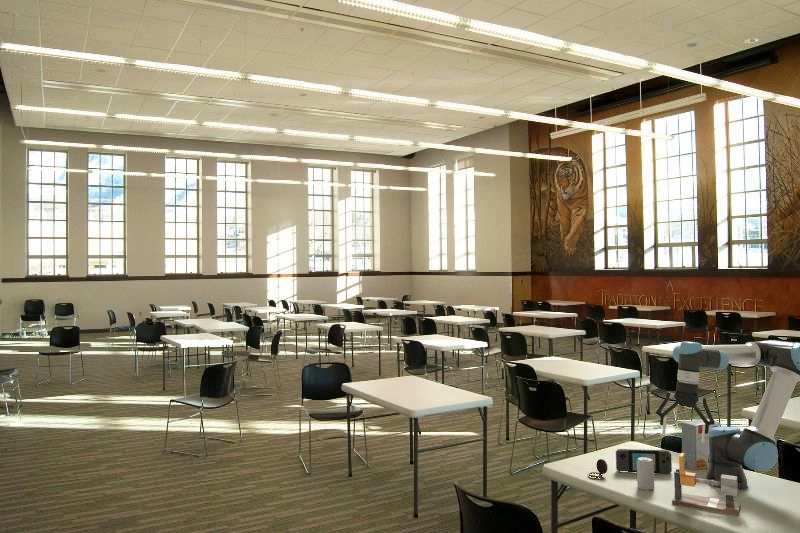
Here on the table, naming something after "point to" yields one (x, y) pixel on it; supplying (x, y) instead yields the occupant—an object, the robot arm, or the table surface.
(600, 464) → the compass
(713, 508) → the cord board
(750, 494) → the table surface
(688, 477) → the orange l-shaped block
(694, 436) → the hard drive box
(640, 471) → the beverage can
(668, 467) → the handheld gaming console
